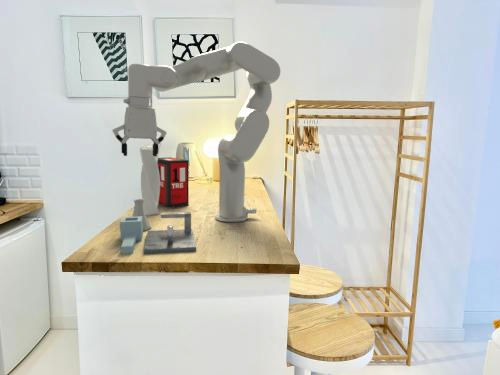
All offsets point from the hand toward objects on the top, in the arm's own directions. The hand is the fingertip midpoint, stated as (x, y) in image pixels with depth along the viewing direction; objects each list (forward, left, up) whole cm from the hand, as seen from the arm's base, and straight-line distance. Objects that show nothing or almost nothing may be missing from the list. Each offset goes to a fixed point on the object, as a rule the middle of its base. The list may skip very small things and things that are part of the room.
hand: (140, 155), depth 121 cm
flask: (0, +4, -25) cm, 25 cm away
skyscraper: (-2, -18, -24) cm, 31 cm away
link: (+2, +19, -24) cm, 31 cm away
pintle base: (-10, +20, -24) cm, 33 cm away
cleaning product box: (-10, -36, -25) cm, 44 cm away
